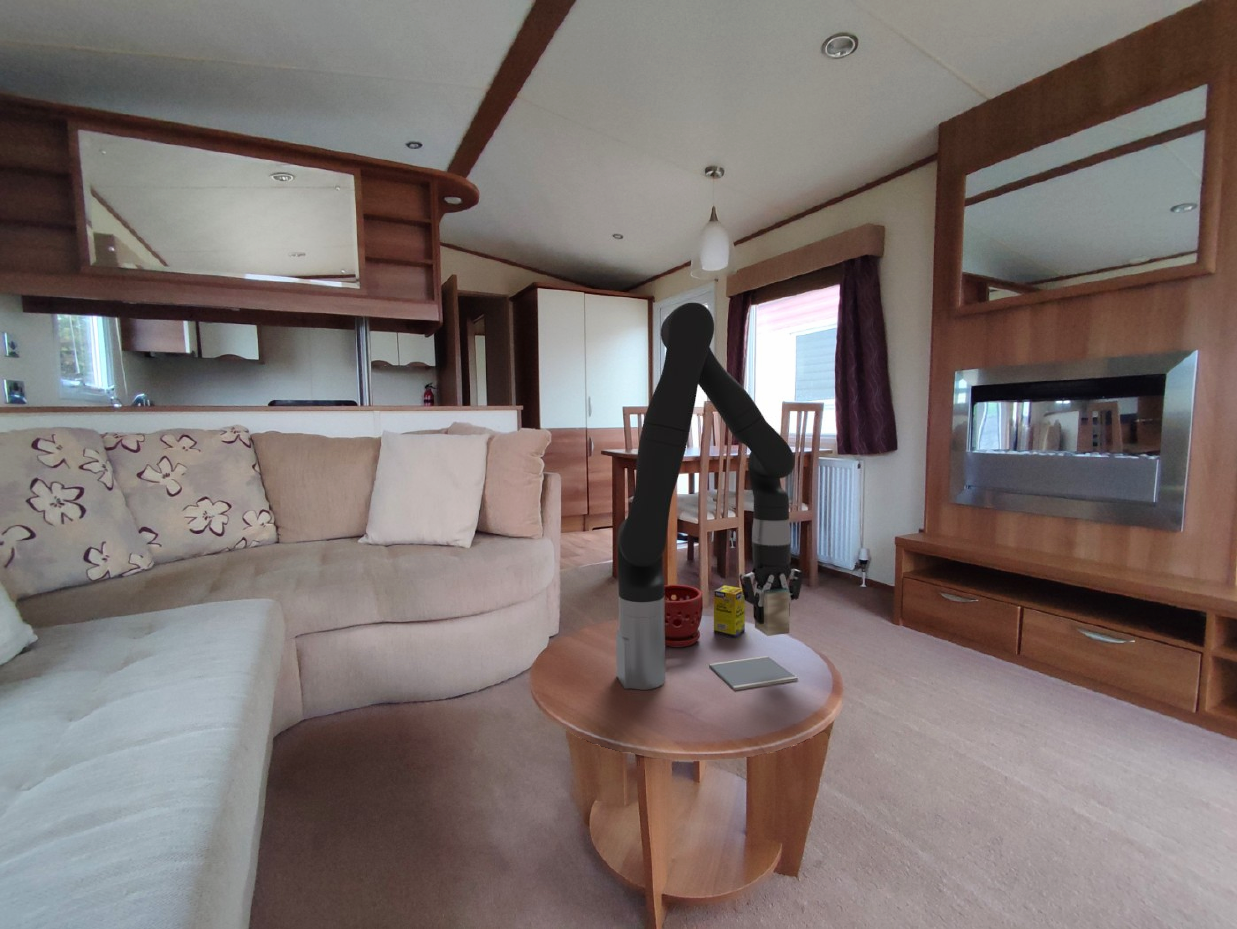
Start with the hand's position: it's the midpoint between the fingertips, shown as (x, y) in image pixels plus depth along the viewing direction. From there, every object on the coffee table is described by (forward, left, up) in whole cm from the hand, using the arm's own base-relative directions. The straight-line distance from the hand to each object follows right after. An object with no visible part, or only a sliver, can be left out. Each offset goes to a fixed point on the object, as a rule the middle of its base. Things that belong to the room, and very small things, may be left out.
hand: (771, 621), depth 107 cm
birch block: (0, 0, -2) cm, 2 cm away
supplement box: (+2, +22, -11) cm, 25 cm away
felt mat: (-5, 0, -10) cm, 11 cm away
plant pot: (-13, +21, -11) cm, 27 cm away
